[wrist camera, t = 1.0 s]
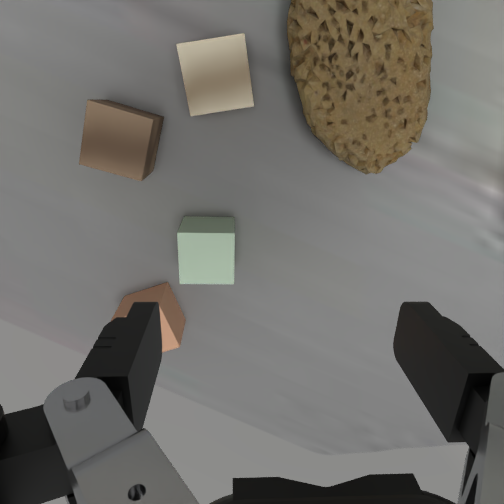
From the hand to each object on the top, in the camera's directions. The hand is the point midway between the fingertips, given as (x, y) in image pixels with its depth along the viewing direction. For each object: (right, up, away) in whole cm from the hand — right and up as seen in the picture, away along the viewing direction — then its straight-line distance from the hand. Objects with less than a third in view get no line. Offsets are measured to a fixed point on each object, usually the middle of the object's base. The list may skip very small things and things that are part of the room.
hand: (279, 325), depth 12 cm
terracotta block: (-12, -4, +29) cm, 31 cm away
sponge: (+8, +20, +20) cm, 30 cm away
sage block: (-5, +4, +26) cm, 27 cm away
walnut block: (-12, +13, +22) cm, 28 cm away
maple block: (-4, +18, +20) cm, 27 cm away
